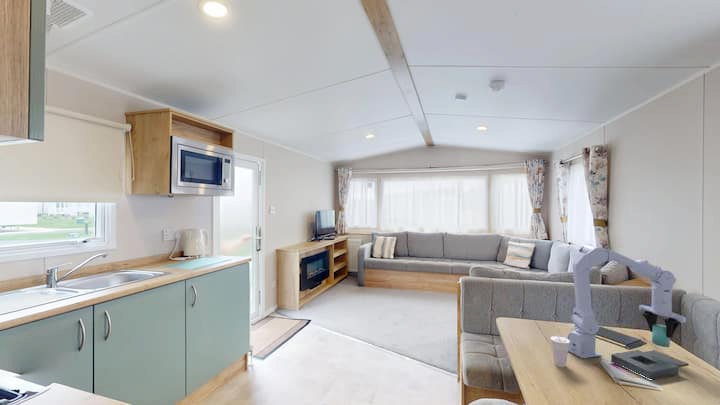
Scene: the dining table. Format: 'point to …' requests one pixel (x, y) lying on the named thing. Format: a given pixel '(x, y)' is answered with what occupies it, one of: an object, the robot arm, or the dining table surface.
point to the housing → (645, 364)
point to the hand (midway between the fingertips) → (661, 334)
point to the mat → (666, 358)
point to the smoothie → (560, 350)
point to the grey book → (619, 338)
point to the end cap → (660, 335)
